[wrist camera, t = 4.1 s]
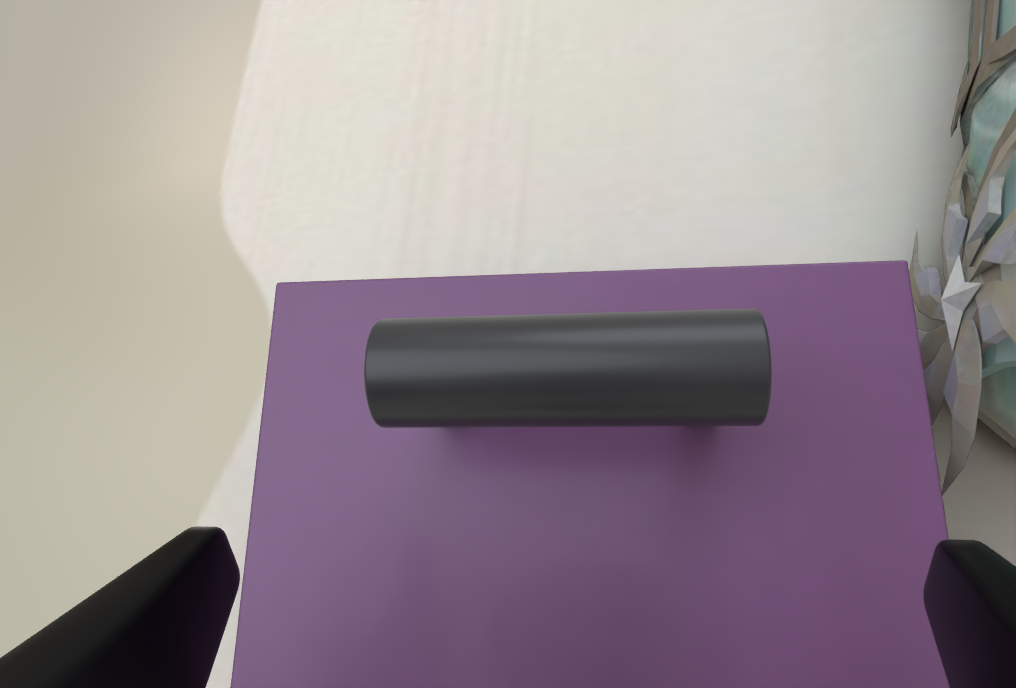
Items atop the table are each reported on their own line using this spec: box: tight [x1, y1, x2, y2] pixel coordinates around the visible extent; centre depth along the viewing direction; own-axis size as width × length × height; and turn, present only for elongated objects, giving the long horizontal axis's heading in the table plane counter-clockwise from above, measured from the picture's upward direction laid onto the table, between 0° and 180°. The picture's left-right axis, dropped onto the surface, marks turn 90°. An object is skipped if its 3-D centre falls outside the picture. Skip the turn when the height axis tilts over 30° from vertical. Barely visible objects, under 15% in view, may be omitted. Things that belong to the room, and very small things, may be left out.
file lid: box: [231, 261, 950, 688], centre depth 12 cm, size 10×14×5 cm
